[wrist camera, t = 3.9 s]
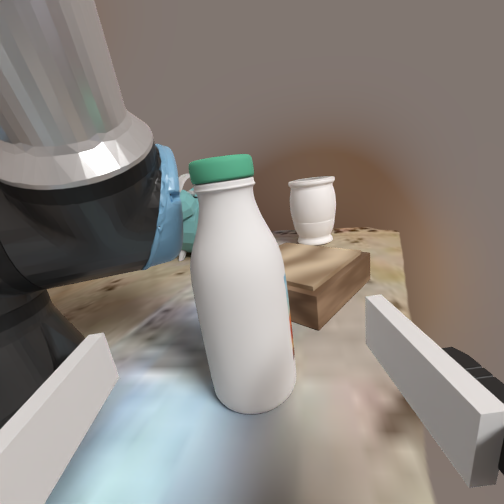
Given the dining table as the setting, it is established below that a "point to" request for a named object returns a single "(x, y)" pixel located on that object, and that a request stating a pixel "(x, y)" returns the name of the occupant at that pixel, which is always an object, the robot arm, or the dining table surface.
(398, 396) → the dining table surface
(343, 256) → the walnut stand
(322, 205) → the jar
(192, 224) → the alarm clock
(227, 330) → the milk bottle
